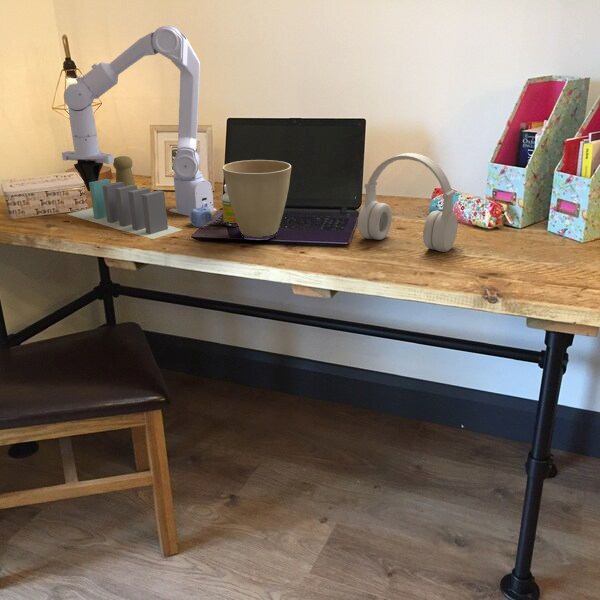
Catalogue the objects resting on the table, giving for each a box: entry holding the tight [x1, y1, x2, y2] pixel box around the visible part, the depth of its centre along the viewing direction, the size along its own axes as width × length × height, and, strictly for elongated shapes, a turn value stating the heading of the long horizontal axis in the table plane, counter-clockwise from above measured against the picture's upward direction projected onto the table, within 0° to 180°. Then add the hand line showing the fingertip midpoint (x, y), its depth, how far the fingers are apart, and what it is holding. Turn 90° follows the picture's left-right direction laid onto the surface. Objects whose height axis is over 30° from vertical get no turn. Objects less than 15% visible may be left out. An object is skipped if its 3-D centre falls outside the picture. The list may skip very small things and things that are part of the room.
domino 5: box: [142, 189, 169, 234], centre depth 152 cm, size 2×5×9 cm, turn 140°
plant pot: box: [222, 159, 292, 237], centre depth 146 cm, size 15×15×16 cm
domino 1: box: [89, 178, 112, 219], centre depth 164 cm, size 2×5×9 cm, turn 140°
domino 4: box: [128, 186, 152, 231], centre depth 155 cm, size 2×5×9 cm, turn 140°
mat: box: [66, 207, 184, 240], centre depth 161 cm, size 34×9×1 cm, turn 50°
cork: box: [112, 155, 136, 186], centre depth 184 cm, size 6×6×11 cm
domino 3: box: [115, 184, 138, 227], centre depth 158 cm, size 2×5×9 cm, turn 140°
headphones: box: [357, 152, 459, 253], centre depth 139 cm, size 20×8×19 cm, turn 56°
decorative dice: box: [189, 208, 214, 228], centre depth 157 cm, size 4×4×4 cm
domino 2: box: [103, 181, 125, 223], centre depth 161 cm, size 2×5×9 cm, turn 140°
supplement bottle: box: [221, 183, 237, 223], centre depth 156 cm, size 5×5×10 cm
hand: (92, 190), depth 166 cm, fingers closed
